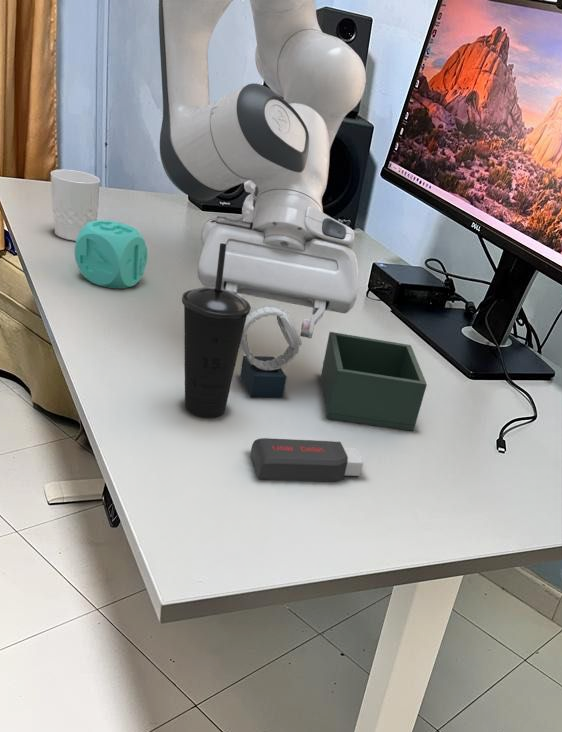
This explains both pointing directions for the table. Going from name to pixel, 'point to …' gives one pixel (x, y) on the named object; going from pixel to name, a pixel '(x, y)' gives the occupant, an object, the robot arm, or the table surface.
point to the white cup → (73, 201)
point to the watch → (265, 371)
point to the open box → (371, 382)
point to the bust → (248, 198)
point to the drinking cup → (211, 344)
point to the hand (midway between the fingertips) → (271, 329)
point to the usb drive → (304, 460)
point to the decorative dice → (111, 254)
